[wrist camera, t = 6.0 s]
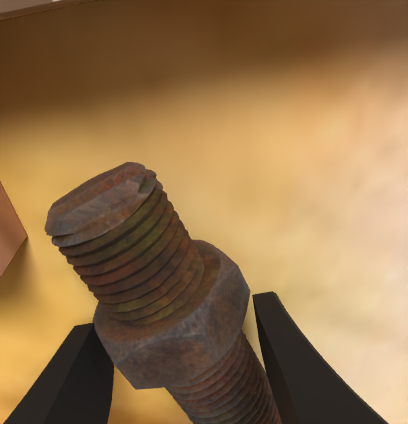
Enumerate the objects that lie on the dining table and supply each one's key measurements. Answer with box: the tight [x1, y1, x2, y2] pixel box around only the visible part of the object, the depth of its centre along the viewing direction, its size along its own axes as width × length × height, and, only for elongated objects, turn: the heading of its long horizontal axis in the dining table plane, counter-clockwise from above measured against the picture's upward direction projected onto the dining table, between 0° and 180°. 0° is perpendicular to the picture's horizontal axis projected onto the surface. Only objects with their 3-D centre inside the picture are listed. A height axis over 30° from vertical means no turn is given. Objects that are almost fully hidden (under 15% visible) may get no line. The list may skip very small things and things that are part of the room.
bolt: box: [45, 162, 282, 424], centre depth 13 cm, size 6×5×15 cm
